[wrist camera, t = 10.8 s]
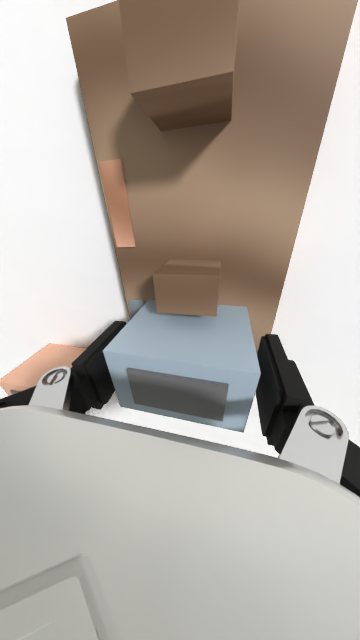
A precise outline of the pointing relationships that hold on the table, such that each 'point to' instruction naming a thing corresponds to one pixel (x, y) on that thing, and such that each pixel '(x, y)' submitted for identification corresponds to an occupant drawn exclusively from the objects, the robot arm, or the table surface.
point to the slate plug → (187, 365)
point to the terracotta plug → (39, 367)
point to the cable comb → (208, 140)
